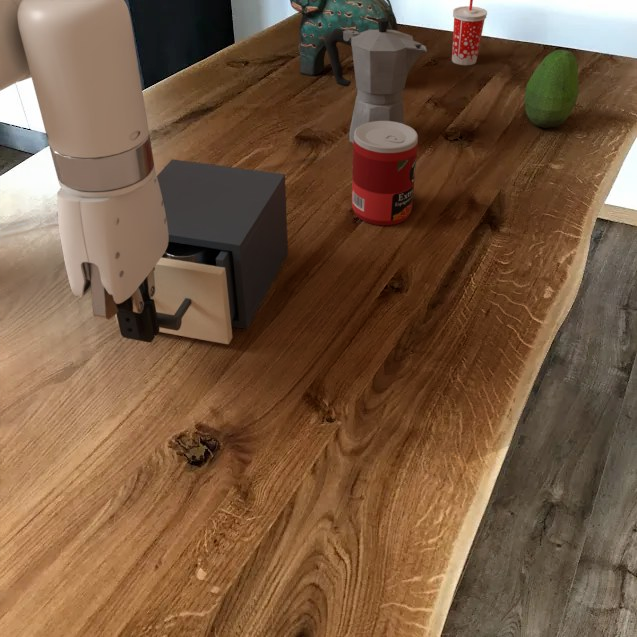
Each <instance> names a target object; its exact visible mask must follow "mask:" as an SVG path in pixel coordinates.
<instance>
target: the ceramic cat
mask: <svg viewBox="0 0 637 637" xmlns="http://www.w3.org/2000/svg"><path fill="white" fill-rule="evenodd" d="M289 2H290V6H291V7H292V9H293V10H294V11H296V12H298V13H300V14H301V15H302V16H301V19H300V23H299V42H298V53H299V54H298V55H299V73H300V74H301V75H307V76H310V77H314V76H317V75H319V74H320V73H321V72H323V71H324V70H325V58H326V52H327V49H326V46H325V40H326V38H327V37H328V36H329V35H330V34H331V32H332V31H333V30H334V29H337V28H338V29H343V30H353V31H357V32H359V33H361V32H364V31H367V30H379V26H378V19H379V18H387V19H389V22H388V26H387V30H396V31H399V27H398V23H397V18H396V15H395V13H394V10H393V6H392V3H391V1H390V0H289Z"/></svg>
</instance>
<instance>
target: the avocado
mask: <svg viewBox="0 0 637 637" xmlns="http://www.w3.org/2000/svg"><path fill="white" fill-rule="evenodd" d="M578 67H579V66H578V60H577V56H576V55H575V54H574V53H573V52H571V51H569V50H567V49H555V50H553V51H552V52H550V53H548V54H547V55H546V56H545V57H544V58H543V60H541V61H540V63H539V65H538V66H537V68H536V69H535V70H534V72H533V73H532V74H531V76H530V78H529V80H528V82H527V83H526V87H525V92H524V96H523V101H524V108H525V110H524V111H525V114H526V116H527V118H528V119H529V120H530V122H531V123H532V125H534V126H536V127H540V128H542V129H550V128H554V127H555V128H556V127H558V126H560V125H562V124H563V123H564V122H565V121H567V119H568V118H569V116H570V115H571V113H572V111H573V110H574V108H575V106H576V105H577V100H578V97H579V92H580V85H579V84H580V83H579V68H578Z"/></svg>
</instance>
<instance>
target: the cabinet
mask: <svg viewBox="0 0 637 637" xmlns="http://www.w3.org/2000/svg"><path fill="white" fill-rule="evenodd" d="M156 175H157V179H158V182H159V186H160V190H161V194H162V198H163V203H164V208H165V213H166V219H167V226H168V236H169V242H175V243H181V244H188V245H194V246H201V247H207V248H213V249H220V250H226V251H233V252H232V253H233V263H234V274H235V284H236V295H237V305H238V311H237V313H236V315H235V317H234V318H233V320H232V322H231V328H238V329H243V330H248V329H249V327H250V325H251V324H252V321H253V320H254V318H255V316H256V314H257V312H258V311H259V309H260V306H261V305H262V302H263V301H264V299H265V297H266V295H267V293H268V291H269V289H270V288H271V286H272V285H273V282H274V281H275V278H276V276H277V275H278V272H279V271H280V269H281V268H282V265H283V263H284V261H285V259H286V258H287V256H288V254H289V246H288V244H289V243H288V220H287V219H288V218H287V217H288V216H287V191H286V189H287V188H286V174H285V173H279V172H271V171H265V170H257V169H250V168H249V169H248V168H242V167H233V166H227V165H220V164H210V163H205V162H204V163H202V162H195V161H187V160H180V159H171V160H170V161H169V162H168V163H167V164H166V165H165V166H164V168H163V169H161V171H160V172H159V173H158V174H156Z"/></svg>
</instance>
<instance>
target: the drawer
mask: <svg viewBox="0 0 637 637" xmlns="http://www.w3.org/2000/svg"><path fill="white" fill-rule="evenodd" d="M209 249H210V257H211V265H205V264H199V263H192V262H186V261H180V260H174V259H168V258H164V257H163V256H162V257H161V258H160V260H159V261H158V263H157V264H156V265H155V270H154V279H155V294H154V296H153V297H152V298H150V299H154V302H155V308H156V313H157V318H158V324H159V329H160V330H159V332H158V333H164V334H169V335H175V336H180V337H186V338H190V339H196V340H201V341H207V342H212V343H218V344H223V345H229V344H230V343H231V341H232V339H233V329H232V328H233V327H231V322H232V320H233V318H234V317H235V315H236V313H237V311H238V305H237V295H236V284H235V274H234V263H233V253H232V252H233V251H226V250H220V249H213V248H209ZM114 317H115V322H116V325H119V323H118V319H117V314H115V315H114Z"/></svg>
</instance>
